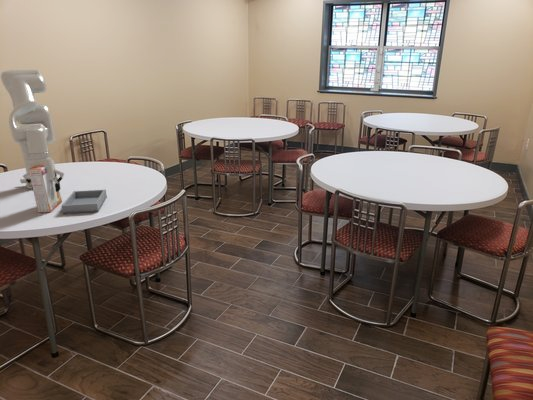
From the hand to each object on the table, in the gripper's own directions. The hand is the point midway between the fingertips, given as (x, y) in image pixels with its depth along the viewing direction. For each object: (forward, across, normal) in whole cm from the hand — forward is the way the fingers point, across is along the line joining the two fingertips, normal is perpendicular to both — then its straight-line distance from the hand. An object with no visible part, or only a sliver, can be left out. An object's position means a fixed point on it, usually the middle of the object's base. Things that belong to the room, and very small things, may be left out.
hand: (47, 191), depth 188 cm
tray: (+8, +16, 0) cm, 18 cm away
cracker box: (+8, 0, 0) cm, 8 cm away
